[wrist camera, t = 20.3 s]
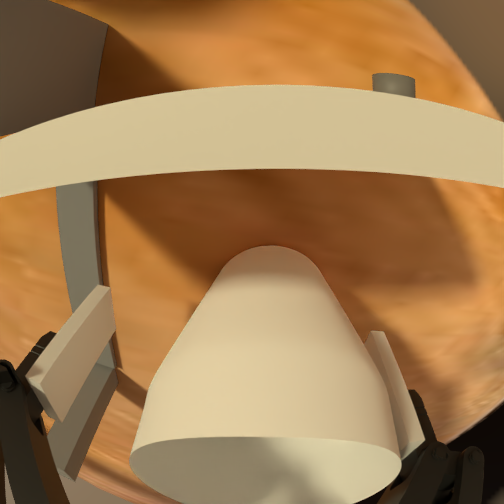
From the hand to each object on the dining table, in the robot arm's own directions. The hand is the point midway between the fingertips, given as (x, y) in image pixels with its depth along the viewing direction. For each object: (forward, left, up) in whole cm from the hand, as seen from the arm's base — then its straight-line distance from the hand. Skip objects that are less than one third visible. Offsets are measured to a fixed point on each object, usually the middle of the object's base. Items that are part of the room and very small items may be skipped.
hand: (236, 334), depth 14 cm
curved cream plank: (-2, +10, -3) cm, 11 cm away
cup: (+2, 0, -4) cm, 5 cm away
